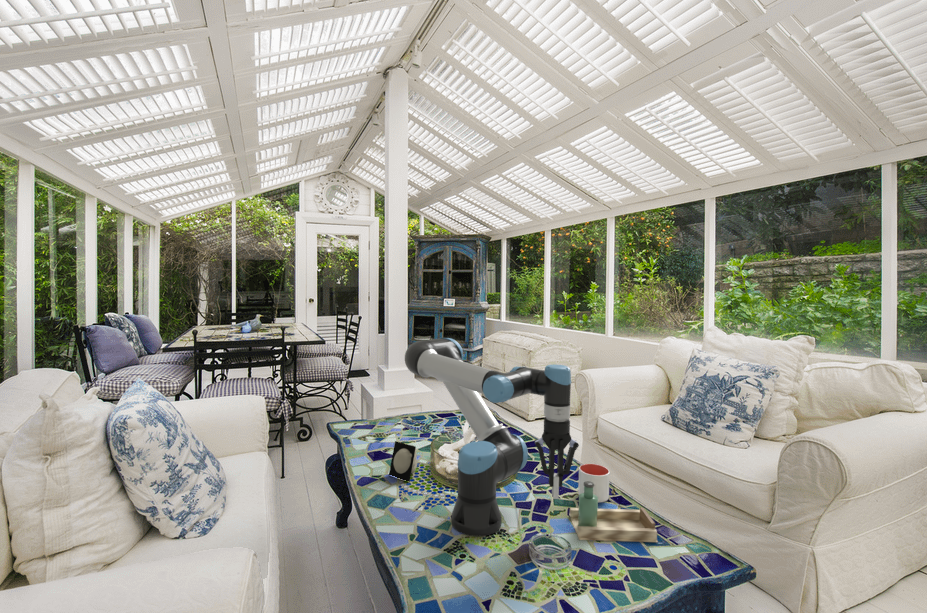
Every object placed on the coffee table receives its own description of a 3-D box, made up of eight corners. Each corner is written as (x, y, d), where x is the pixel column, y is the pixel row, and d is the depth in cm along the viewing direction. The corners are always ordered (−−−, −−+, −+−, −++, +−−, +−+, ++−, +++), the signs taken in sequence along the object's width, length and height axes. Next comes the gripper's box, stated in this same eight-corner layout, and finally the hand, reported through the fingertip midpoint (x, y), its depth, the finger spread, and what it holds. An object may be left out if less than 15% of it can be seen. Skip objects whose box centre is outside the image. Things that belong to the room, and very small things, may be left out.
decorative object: (401, 474, 174) (421, 481, 168) (383, 476, 165) (404, 483, 160) (407, 440, 176) (427, 446, 171) (390, 441, 167) (411, 446, 162)
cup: (610, 507, 147) (611, 477, 146) (578, 503, 149) (579, 474, 148) (606, 493, 157) (607, 465, 156) (577, 489, 159) (578, 462, 158)
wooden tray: (579, 543, 126) (579, 525, 126) (568, 517, 140) (569, 501, 140) (658, 545, 126) (658, 528, 125) (639, 519, 140) (640, 503, 139)
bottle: (580, 531, 130) (581, 487, 130) (576, 521, 136) (577, 479, 135) (599, 531, 130) (600, 487, 130) (594, 521, 136) (595, 479, 135)
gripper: (536, 421, 128) (534, 502, 129) (582, 422, 128) (580, 503, 129) (532, 414, 135) (531, 490, 137) (576, 414, 135) (574, 491, 136)
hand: (555, 496), depth 133 cm, fingers closed
